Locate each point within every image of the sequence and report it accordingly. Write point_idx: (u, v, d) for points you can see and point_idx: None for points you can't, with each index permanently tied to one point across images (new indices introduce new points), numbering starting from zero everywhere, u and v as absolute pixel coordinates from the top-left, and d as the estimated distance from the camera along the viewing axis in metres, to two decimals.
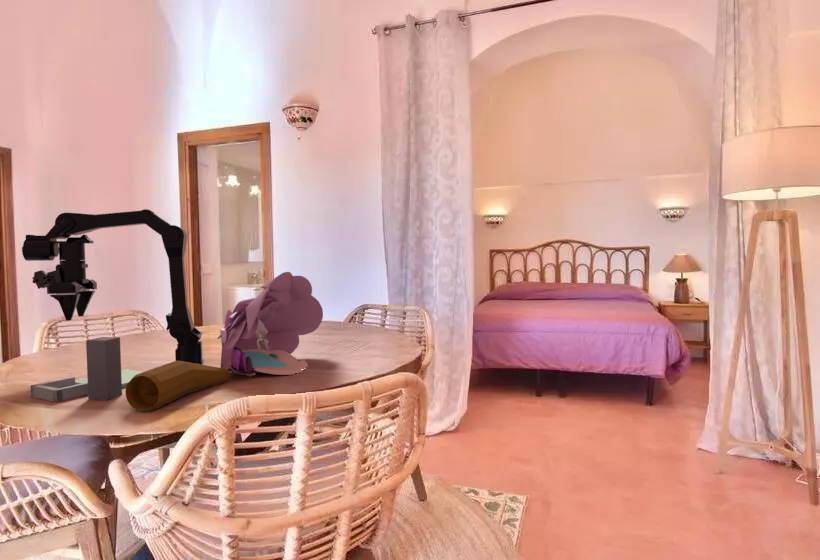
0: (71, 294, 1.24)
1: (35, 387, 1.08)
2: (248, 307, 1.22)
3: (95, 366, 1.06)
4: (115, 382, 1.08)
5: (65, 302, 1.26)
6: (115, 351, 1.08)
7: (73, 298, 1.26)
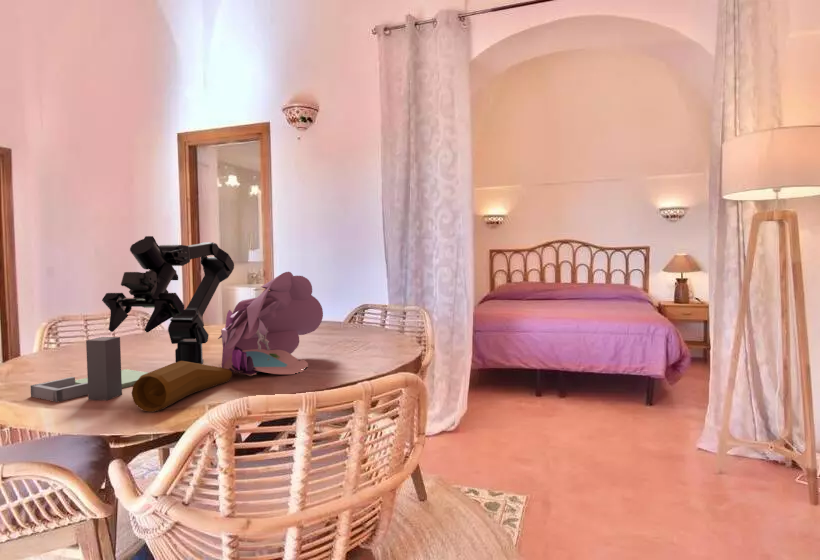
0: (174, 313, 1.20)
1: (35, 387, 1.08)
2: (249, 307, 1.22)
3: (95, 366, 1.06)
4: (115, 382, 1.08)
5: (158, 315, 1.18)
6: (115, 351, 1.08)
7: (167, 316, 1.20)
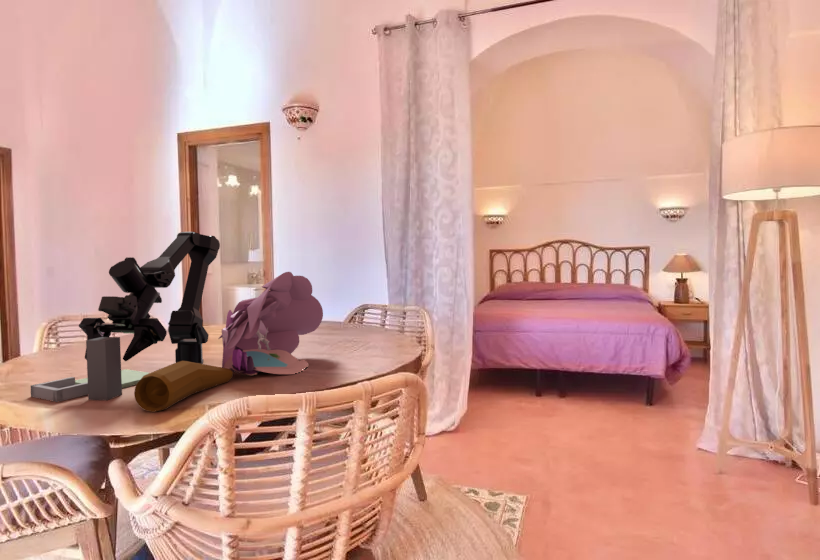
0: (156, 339, 1.13)
1: (35, 387, 1.08)
2: (250, 307, 1.22)
3: (95, 366, 1.06)
4: (115, 382, 1.08)
5: (138, 342, 1.10)
6: (115, 351, 1.08)
7: (148, 343, 1.13)
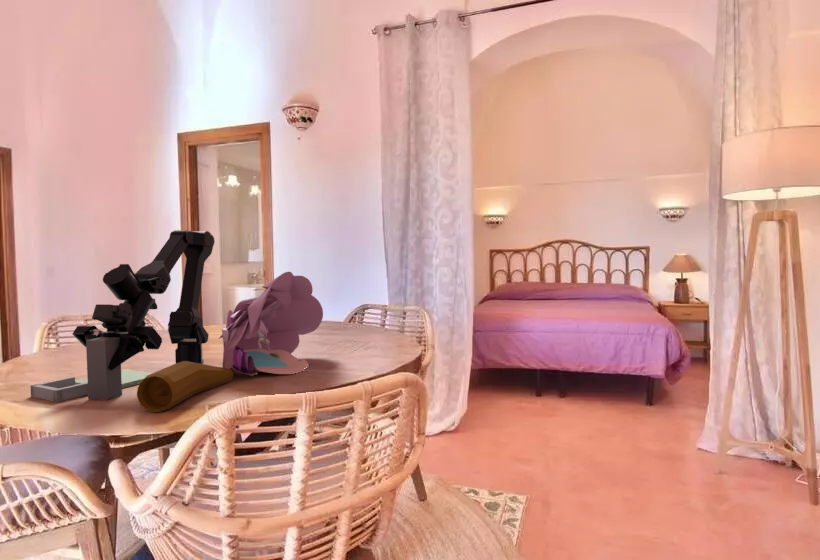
0: (142, 347, 1.12)
1: (35, 387, 1.08)
2: (250, 307, 1.22)
3: (95, 366, 1.06)
4: (115, 382, 1.08)
5: (124, 350, 1.09)
6: (115, 351, 1.08)
7: (134, 351, 1.11)
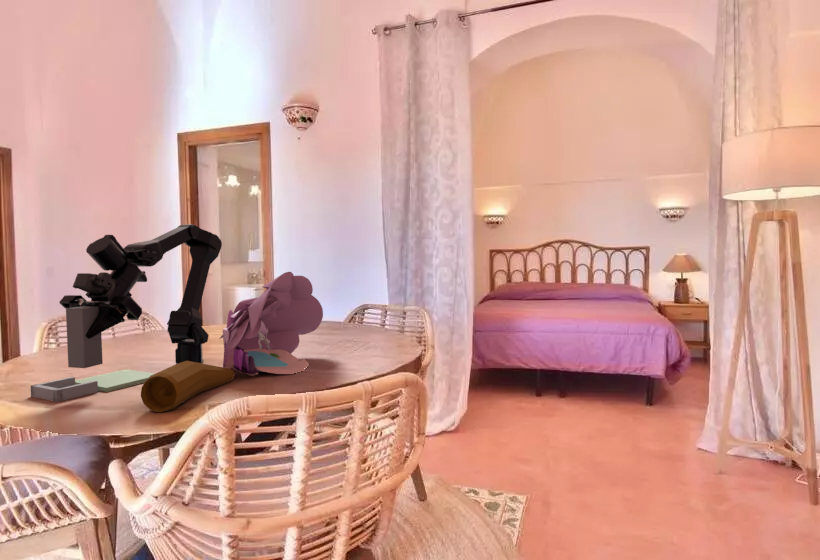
0: (122, 317, 1.11)
1: (35, 387, 1.08)
2: (251, 307, 1.22)
3: (73, 334, 1.06)
4: (95, 351, 1.08)
5: (103, 320, 1.09)
6: (94, 320, 1.08)
7: (115, 321, 1.11)
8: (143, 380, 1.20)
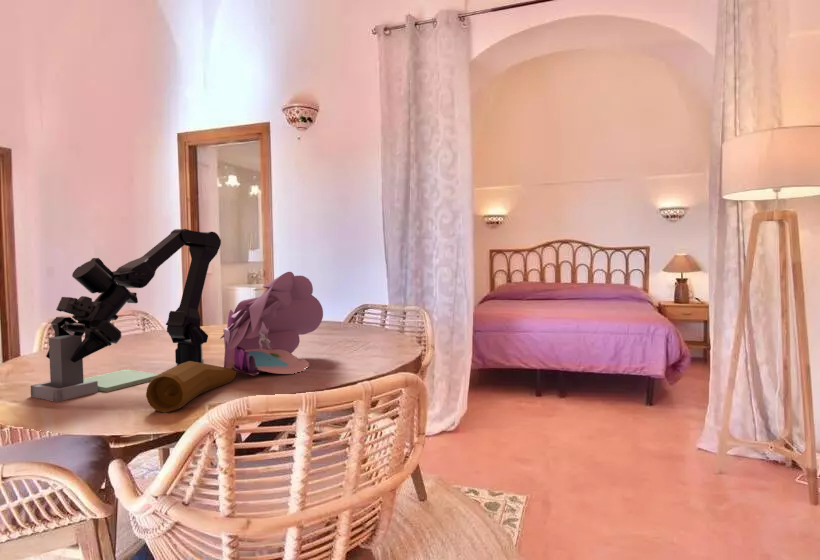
0: (109, 341, 1.11)
1: (35, 387, 1.08)
2: (251, 307, 1.23)
3: (54, 363, 1.09)
4: (75, 380, 1.10)
5: (89, 344, 1.10)
6: (75, 350, 1.10)
7: (101, 345, 1.11)
8: (143, 380, 1.20)
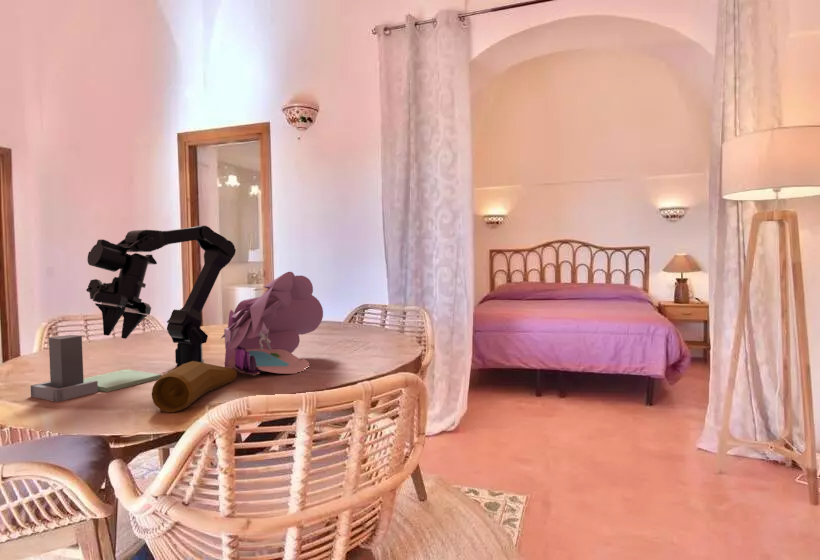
0: (115, 306, 1.16)
1: (35, 387, 1.08)
2: (252, 307, 1.23)
3: (54, 363, 1.09)
4: (75, 380, 1.10)
5: (108, 315, 1.18)
6: (75, 350, 1.10)
7: (116, 311, 1.17)
8: (143, 380, 1.20)
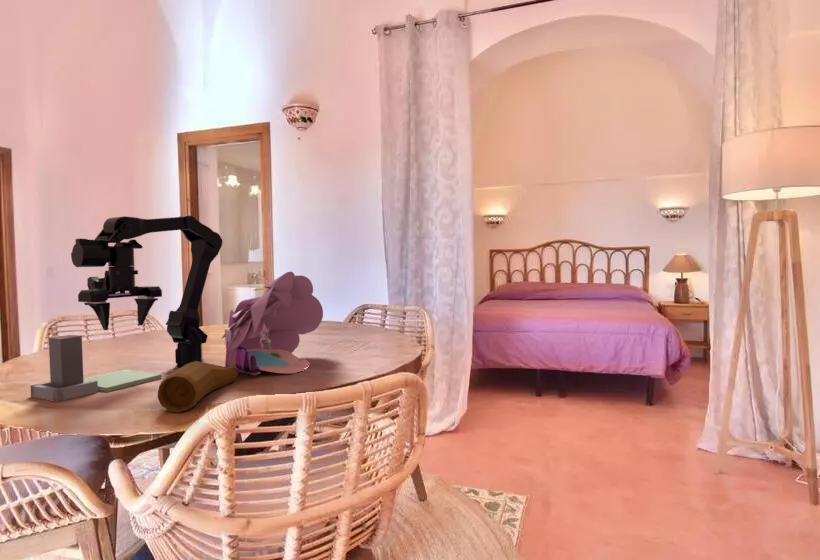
0: (95, 303, 1.16)
1: (35, 387, 1.08)
2: (253, 307, 1.23)
3: (54, 363, 1.09)
4: (75, 380, 1.10)
5: (99, 311, 1.19)
6: (75, 350, 1.10)
7: (101, 307, 1.18)
8: (143, 380, 1.20)
